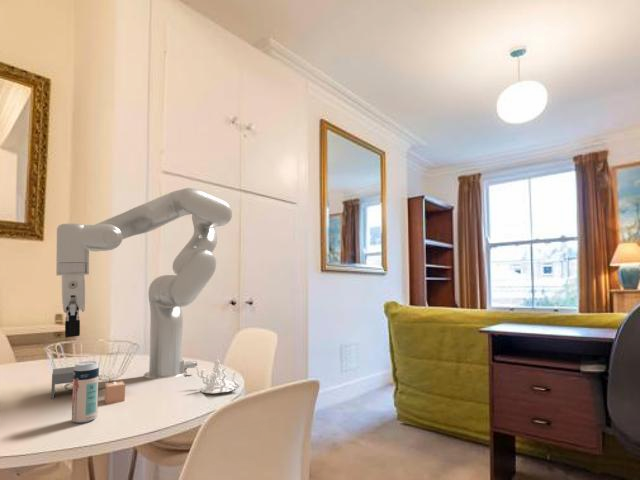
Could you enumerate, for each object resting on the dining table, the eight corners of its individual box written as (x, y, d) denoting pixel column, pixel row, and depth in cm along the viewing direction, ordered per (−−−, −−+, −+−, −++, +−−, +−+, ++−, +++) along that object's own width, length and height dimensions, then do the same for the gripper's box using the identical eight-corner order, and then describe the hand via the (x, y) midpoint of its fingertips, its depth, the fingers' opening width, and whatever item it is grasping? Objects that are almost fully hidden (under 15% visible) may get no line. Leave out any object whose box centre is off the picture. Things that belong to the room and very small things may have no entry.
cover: (82, 387, 111) (83, 365, 112) (83, 394, 105) (84, 371, 106) (52, 392, 108) (53, 369, 108) (51, 399, 102) (52, 374, 102)
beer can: (78, 416, 89) (80, 361, 90) (101, 415, 90) (102, 360, 91) (66, 424, 85) (69, 366, 85) (90, 423, 85) (92, 365, 86)
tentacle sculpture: (240, 391, 108) (240, 355, 109) (193, 395, 105) (193, 358, 105) (237, 382, 117) (237, 349, 117) (193, 385, 113) (194, 352, 114)
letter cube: (122, 397, 103) (122, 380, 104) (124, 401, 100) (125, 383, 100) (104, 399, 101) (105, 382, 101) (106, 404, 98) (107, 386, 98)
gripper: (90, 269, 103) (89, 337, 103) (87, 269, 118) (87, 328, 117) (55, 270, 99) (54, 340, 99) (57, 269, 114) (56, 331, 113)
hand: (72, 333), depth 108 cm, fingers open, 9 cm apart
